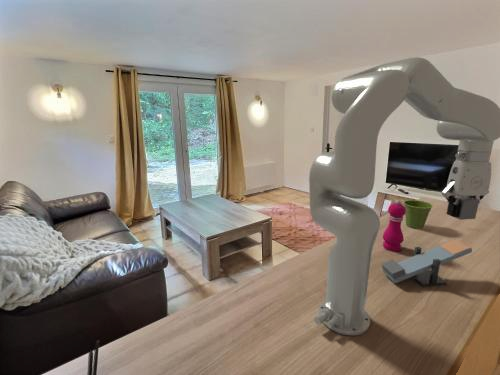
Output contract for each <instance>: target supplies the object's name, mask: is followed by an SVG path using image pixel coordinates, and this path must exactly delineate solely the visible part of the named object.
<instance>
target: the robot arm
mask: <svg viewBox="0 0 500 375" xmlns="http://www.w3.org/2000/svg"><path fill="white" fill-rule="evenodd" d="M404 102H405V103H407V104H408V105H409V106H410V107H412V109H414V110H415V111H416V112H418V114H419V115H421V116H422V117H424V118H426V119H430V120H434V121H438V122H437V124H436V132H437V134H438V135H439V137H440V138H442V139H444V140H452V141H458V142H459V143H458V148H457V153H455V155H454V156H455V160H454V161H453V163H452V166H451V168H450V172H449V175H448V178H447V181H446V182H447V183H446V187H445V188H444V189H443V190H442V192H441V195H442V196H443V197H444V198H445V199H446V200H447V201H446V202H447V203H448V202H449V206H448V205H447V208H448V211H447V210H446V213H447V214H446V215H448V216H450V217H453V218H455V217H457V216H458V212H459V207H460V205H458V203H459V201H460V199H461V197H462V196H469V197H472V198H475V199H478V200H479V204H480V203H481V200H482V199H484V197H485V196H487V195H488V194H489V193H490V190H489V189H490V184H491V178H492V162H490V159H491V155H492V150H493V146H494V142H495V141H497V140H498V139H499V138H500V107H499V105H498V104H497V103H496V102H494V101H493V100H491V99H489V98H487V97H485V96H482V95H479V94H476V93H473V92H471V91H468V90H465V89H460V88H457V87H454V86H453V85H452V84H451V82H450V81H448V79H447V78H446V77H445V76H444V75H443V74H442V72H440V71H439V70H438V69H437V67H435V65H434V64H433V63H431V61H429V60H428V59H426V58H424V57H419V56H417V57H409V58H405V59H399V60H396V61H390V62H387V63H382V64H379V65H376V66H374V67H370V68H368V69H365V70H363V71H359V72H357V73H354V74H351V75H348V76H346V77H343V78H341V79H340V80H339V81H338V82H337V83H336V84H335V85H334V86H333V89H332V92H331V104H332V105H333V108H334V109H335V110H336V111H337V112H338V113H341V114H343V115H342V117H341V119H340V121H339V123H338V125H337V128H336V131H335V136H334V150H333V151H325V152H323V153H321V154H319V155H318V156H316V158H315V159H314V160H313V161H312V164H311V166H310V170H309V175H308V176H309V178H308V179H309V180H308V182H309V184H308V185H309V186H308V187H309V210H310V211H309V212H310V216H311V219H312V220H313V222H314V223H315V224H316V225H317V226H319V227H320V228H322V229H324V230H326V231H327V232H328V233H331V234H332V235H334V236H335V237H336V242H335V243H334V244H333V245H332V246H331V248H330V250H329V253H328V261H327V262H328V263H327V264H328V265H327V279H326V292H325V300H323V301H322V302H321V303H320V305H319V306H318V307H319V308H318V314H317V315H316V316H315V317H314V319H313V321H314V322H315V324H316V325H317V326H319V325H321V324H324V325H325V326H326V327H328V328H329V329H330V330H332V331H334V332H335V333H338V334H341V335H343V336H344V335H345V336H359V335H362V334H364V333H365V332H367V331H368V330H369V328H370V325H371V324H370V323H371V318H370V315H369V313H368V312H367V310H366V309H365V308H366V301H367V300H366V299H367V292H368V286H369V285H368V284H369V276H370V268H371V267H370V266H371V261H372V254H373V249H374V244H375V241H376V239H377V236H378V234H379V231H380V226H381V224H380V223H381V221H380V217H379V215H378V214H377V212H376V211H375V210H374V209H373V208H371V207H370V206H368V205H366V204H365V203H363V202H359V201H356V200H358V199H359V200H361V199H364V198H367V197H368V196H369V195H370V194H371V193H372V191H373V189H374V186H375V180H376V179H375V178H376V163H377V146H378V145H377V144H378V137H379V135H380V131H381V129H382V126H383V125H384V123H385V121H387V120H388V118H389V117H390V116H391V115H392V114H393V113H394V112H395V111H396V110H397V109H398V108H399V107H400V105H402V103H404ZM454 196H456V198H454ZM354 199H355V200H354Z"/></svg>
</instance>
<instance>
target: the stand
mask: <svg viewBox="0 0 500 375" xmlns="http://www.w3.org/2000/svg"><path fill="white" fill-rule="evenodd" d="M422 249H423V248H422V247H421V246H417V247H416V246H415V247H414V250H413V251H414V252H413V256H415V255H418V254H420V253H422ZM440 262H441V260H439V259H433V264H432V269H429V270H427V271H424V272H422V273H419V274H417V275H414V276H412V277H410V278H411V280H413V281H414V282H416V283H417V284H418V285H420V287H422V288H428V287H439V286H442V287H443V286H447V285H448V282H447V281H446V280H444V279H443V278H442V277H440V276H439V272H440V267H441V265H440Z"/></svg>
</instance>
